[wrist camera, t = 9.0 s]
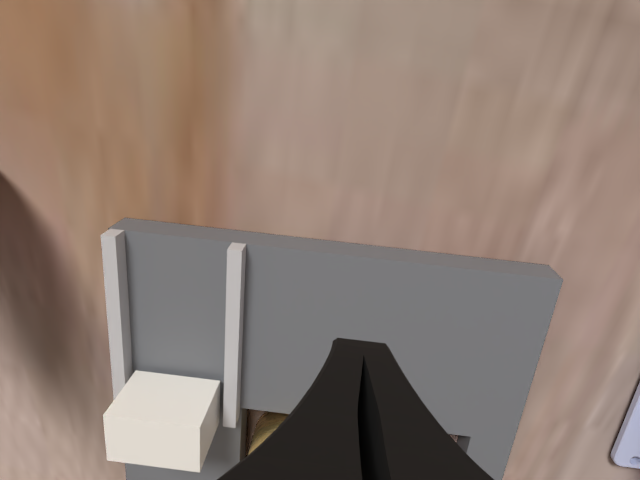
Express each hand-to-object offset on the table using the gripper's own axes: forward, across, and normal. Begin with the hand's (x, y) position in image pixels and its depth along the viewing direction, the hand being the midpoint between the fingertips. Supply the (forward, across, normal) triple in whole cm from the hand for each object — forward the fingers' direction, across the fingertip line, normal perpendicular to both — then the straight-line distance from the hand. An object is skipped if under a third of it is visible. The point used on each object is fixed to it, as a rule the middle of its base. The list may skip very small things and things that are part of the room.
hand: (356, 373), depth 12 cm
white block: (+8, +7, +8) cm, 13 cm away
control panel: (+9, +1, +8) cm, 12 cm away
